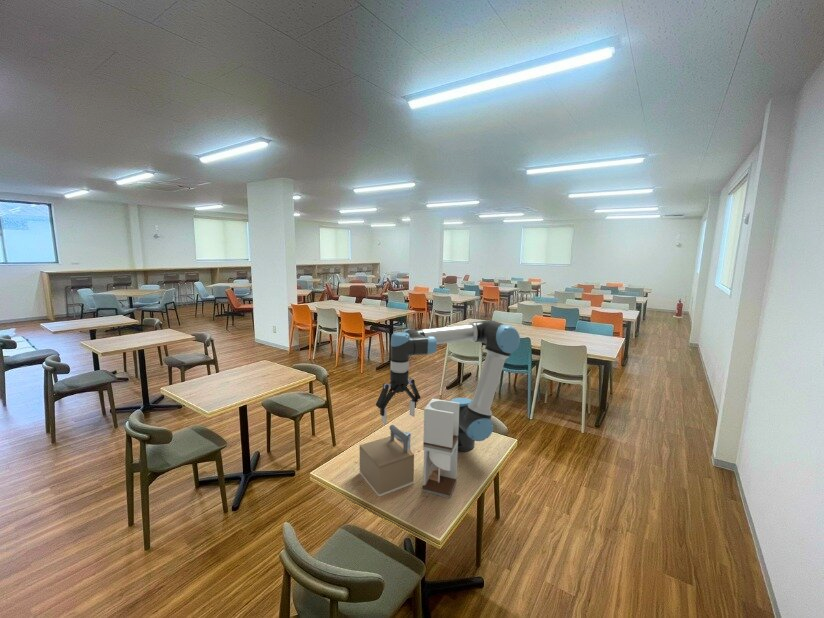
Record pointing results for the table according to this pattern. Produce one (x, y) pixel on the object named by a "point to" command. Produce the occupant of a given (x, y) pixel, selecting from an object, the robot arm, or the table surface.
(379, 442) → the lid flap
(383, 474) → the carton
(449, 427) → the white tower
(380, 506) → the table surface
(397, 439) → the medicine box
